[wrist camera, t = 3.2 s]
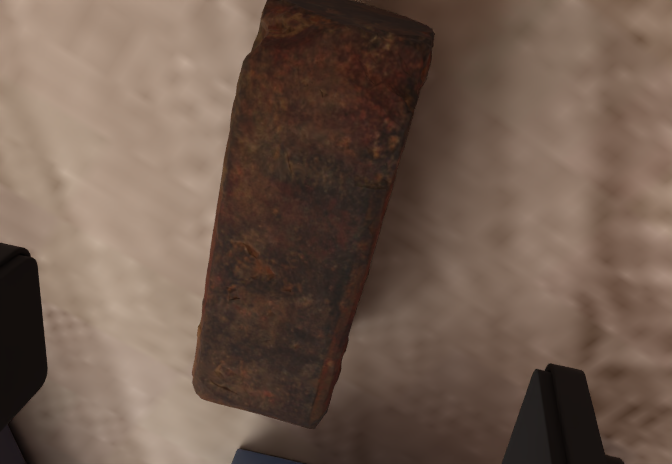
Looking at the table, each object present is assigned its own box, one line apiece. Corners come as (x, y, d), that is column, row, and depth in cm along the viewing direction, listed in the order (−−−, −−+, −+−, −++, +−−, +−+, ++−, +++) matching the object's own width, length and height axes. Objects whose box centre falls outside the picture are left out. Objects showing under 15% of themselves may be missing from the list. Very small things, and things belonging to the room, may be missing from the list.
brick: (347, 339, 21) (322, 441, 17) (234, 307, 22) (182, 400, 17) (442, 18, 17) (438, 53, 12) (294, -21, 17) (241, 0, 13)
